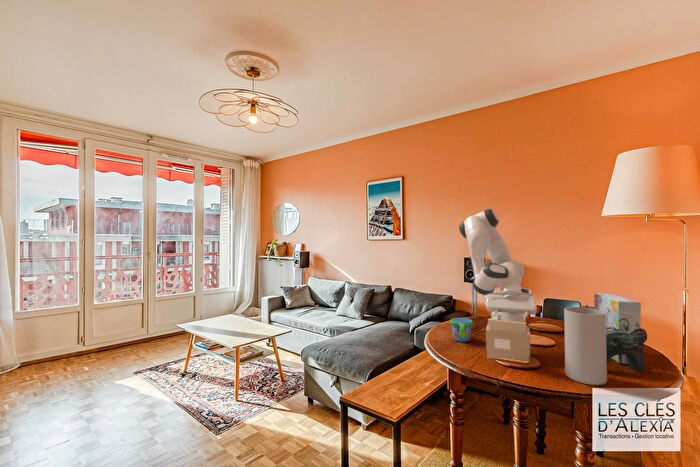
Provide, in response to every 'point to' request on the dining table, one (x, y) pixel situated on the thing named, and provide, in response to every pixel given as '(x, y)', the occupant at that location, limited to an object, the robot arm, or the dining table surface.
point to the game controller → (627, 344)
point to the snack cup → (461, 329)
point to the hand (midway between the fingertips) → (511, 320)
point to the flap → (507, 326)
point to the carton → (508, 344)
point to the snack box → (618, 314)
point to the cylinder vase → (585, 345)
